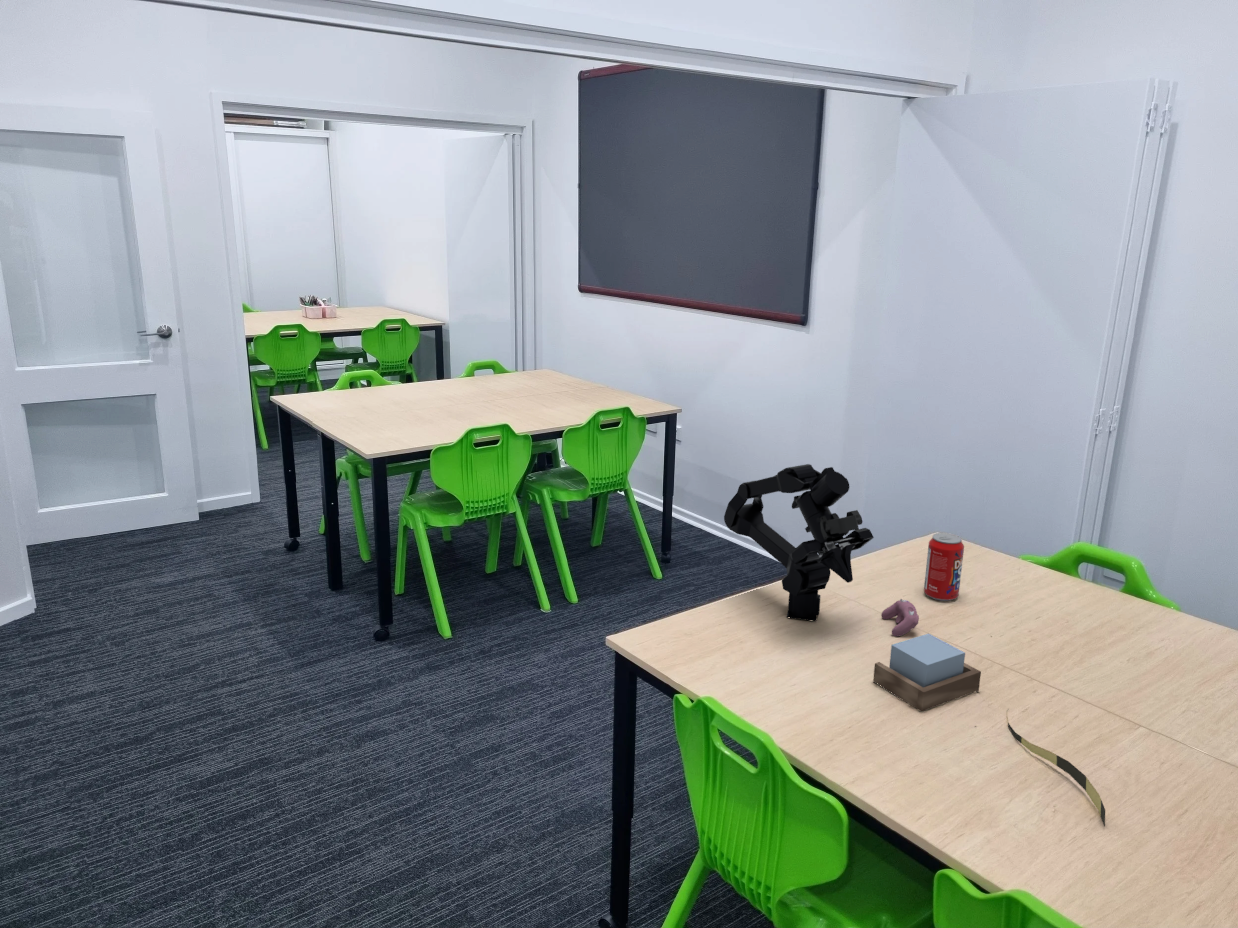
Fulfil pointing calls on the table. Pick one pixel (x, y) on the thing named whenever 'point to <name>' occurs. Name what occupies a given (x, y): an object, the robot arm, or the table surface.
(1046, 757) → the tape
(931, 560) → the soda can
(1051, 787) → the table surface
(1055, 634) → the table surface
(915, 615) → the video game controller
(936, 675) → the slate block
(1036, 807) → the table surface
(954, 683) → the walnut bay
